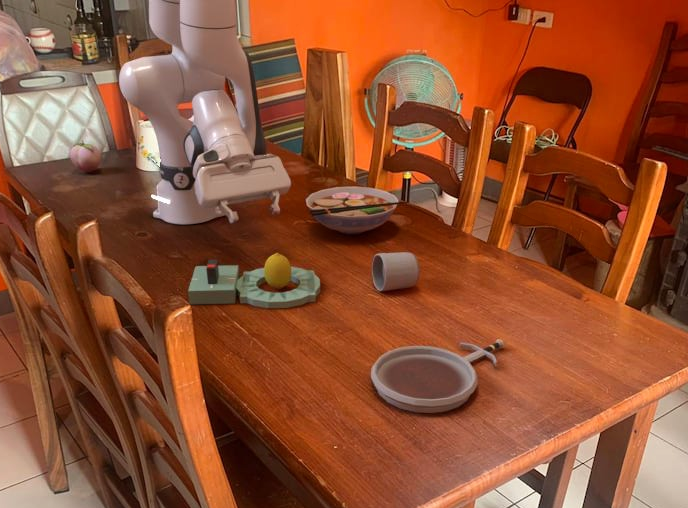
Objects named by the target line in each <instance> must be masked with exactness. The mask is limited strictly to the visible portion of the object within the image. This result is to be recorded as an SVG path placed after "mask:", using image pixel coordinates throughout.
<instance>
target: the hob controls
mask: <svg viewBox="0 0 688 508" xmlns="http://www.w3.org/2000/svg"><path fill="white" fill-rule="evenodd" d="M206 268H207V265H196V266H195V267H194V270H193V274H192V277H191V281H190V283H189V287H188V290H187V293H188V294H187V295H188V303H189V305H225V304H227V305H228V304H229V305H231V304H236V300H237V296H238V295H237V291H236V286H237V280H238V279H239V278H240V269H239V265H237V264H236V265H231V264H230V265H218V269H219V277H218V281H217V284H208V279H207V270H206Z"/></svg>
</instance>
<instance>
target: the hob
mask: <svg viewBox="0 0 688 508" xmlns="http://www.w3.org/2000/svg"><path fill="white" fill-rule="evenodd" d="M242 274H243V275H242V276H240V277H239V279H238V280H237V286H236V291H237V295H236V296H238V298H239V304H248V305H251V306H253V307H256V308H257V307H258V308H264V309H289V308H295V307H298V306H303V305H305V304H307V303H315V302H317V301H316V298H317V297H318V295H319V294H320V293H321V279H320V277H319V276H318V275H316V274H315V270H314V269H308V270H307V269H305V268H302V267H296V266H291V279H290V281H289V282H292V283H295V284H297V285H298V286H297V287H296V288H293V289H291V290H287V291H284V292H283V291H282V292H273V291H272V292H271V291H266V290H263V289H262V288H261V289H260V288H259V287H260V286H261V285H263V284H265V283H267V281H266V279H265V275H264V267H261V268H256V269H253V270H251V271H243V273H242Z"/></svg>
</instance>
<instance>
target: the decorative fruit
mask: <svg viewBox="0 0 688 508" xmlns="http://www.w3.org/2000/svg"><path fill="white" fill-rule="evenodd" d="M69 158H70V161H71V162H72V163H73V165H74V166H75V167H76V168H78V169H79V170H80V171H83V172H84V173H87V174H91V172H93V171H96V170H97V168H98V167H99V166H100V164H101V159H102V154H101V151H100V149H99V148H98V147H97V146H95V145H94V144H92V143H84V139H83V140H81V142H77V143H74V144H73V145H72V148H71V150H70V152H69Z"/></svg>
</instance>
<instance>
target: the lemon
mask: <svg viewBox="0 0 688 508" xmlns="http://www.w3.org/2000/svg"><path fill="white" fill-rule="evenodd" d="M291 267H292V266H291V263H290V261H289V259H288V258H287V257H286V256H285V255H283V254H280V253H279V252H276V253H274V254H272V255H270V256H269V257H268V258H267V259H266V260H265V263H264V267H263V268H264V275H265V279H266V281H267V282H266V283H267V284H268V285H269V286H270V287H271V288H274V289H276V290H278V291H279V290H281V289H282V288H284V287H286V286H287V285H288V284H289V283H290V282H291V281H290V279H291Z"/></svg>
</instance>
